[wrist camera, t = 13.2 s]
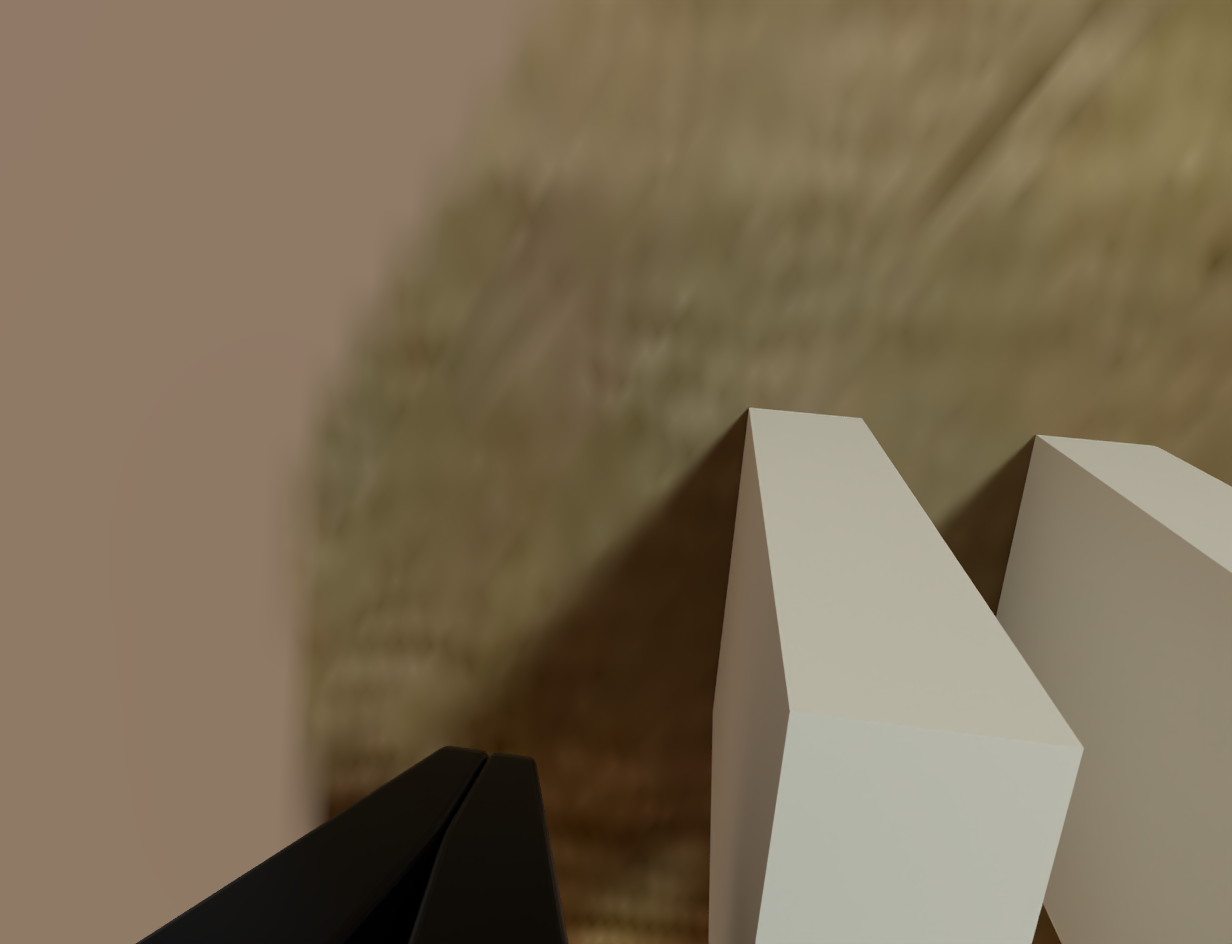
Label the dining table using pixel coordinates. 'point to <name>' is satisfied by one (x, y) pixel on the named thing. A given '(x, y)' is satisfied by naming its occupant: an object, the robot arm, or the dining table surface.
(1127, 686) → the domino
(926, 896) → the domino
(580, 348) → the dining table surface
